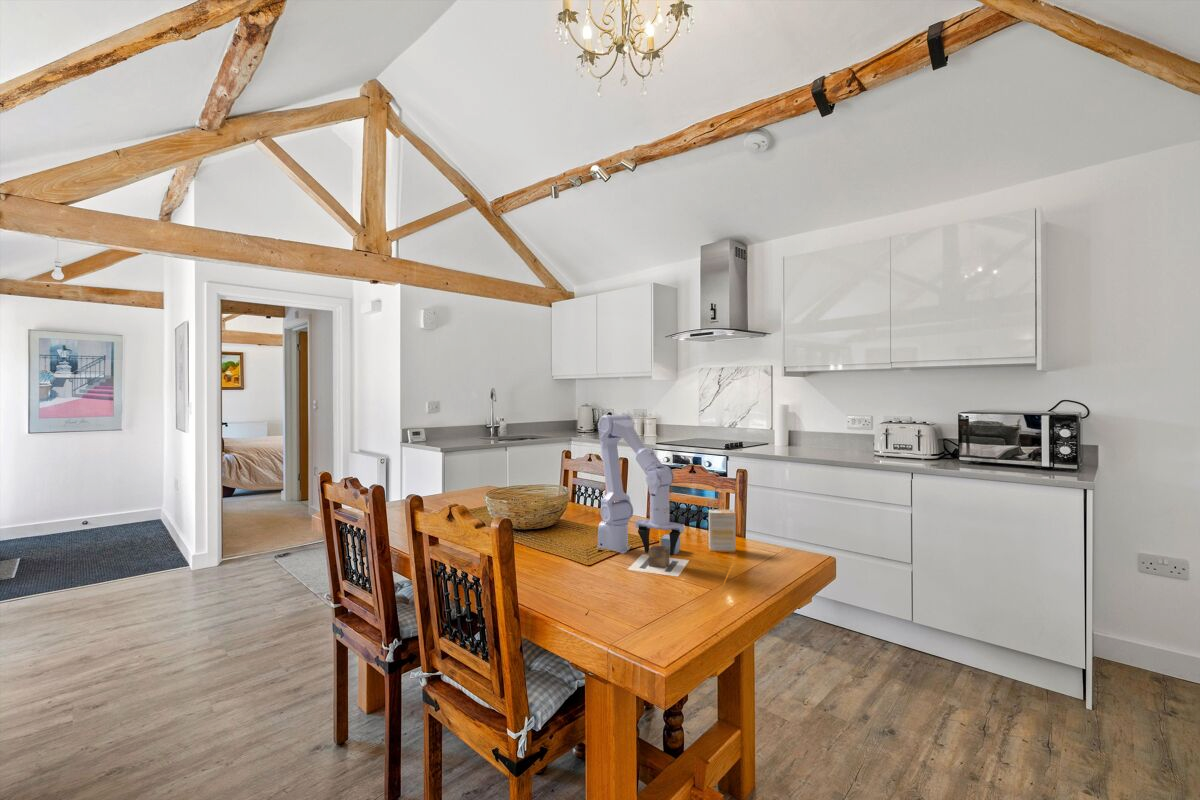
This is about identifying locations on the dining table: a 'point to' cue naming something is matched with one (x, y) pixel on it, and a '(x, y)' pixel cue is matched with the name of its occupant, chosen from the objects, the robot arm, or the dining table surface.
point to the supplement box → (722, 530)
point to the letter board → (672, 568)
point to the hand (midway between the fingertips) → (659, 553)
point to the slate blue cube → (666, 542)
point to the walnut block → (659, 556)
